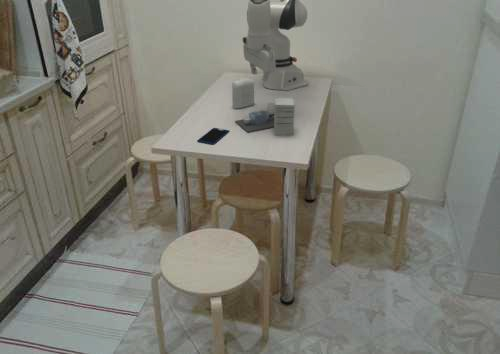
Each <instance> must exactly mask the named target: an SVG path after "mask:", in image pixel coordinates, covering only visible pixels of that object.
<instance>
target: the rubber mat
mask: <svg viewBox="0 0 500 354" xmlns="http://www.w3.org/2000/svg"><path fill="white" fill-rule="evenodd" d="M244 119H245V118H242V119H238V120H234V123H235V124H236V125H237V126H239V127H240V128H241V129H242V130H244V131H245V132H246V133H247V134H250V133H254V132H259V131H265V130H268V129H274V116H272V117H269V122H268V123H264V124H259V125H250V124H249V122H246V123H245V122H244Z"/></svg>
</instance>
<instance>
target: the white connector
mask: <svg viewBox="0 0 500 354" xmlns="http://www.w3.org/2000/svg"><path fill="white" fill-rule="evenodd" d="M274 104H275V102H267V103H266V111H269V115H271V114H274Z"/></svg>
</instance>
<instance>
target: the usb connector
mask: <svg viewBox="0 0 500 354" xmlns="http://www.w3.org/2000/svg"><path fill="white" fill-rule="evenodd" d="M272 116H273V117H274V114H271V115H269V111H267V110H259V111H254V112H249V113H248V117H246V118H243V119H244V122H245V123H246V122H249V124H250V125H259V124H264V123H268V122H269V117H272Z"/></svg>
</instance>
